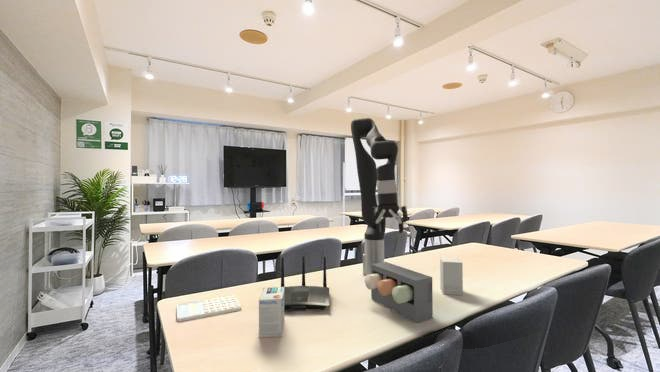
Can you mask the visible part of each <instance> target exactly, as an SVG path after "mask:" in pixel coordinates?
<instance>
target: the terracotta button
mask: <svg viewBox="0 0 660 372" xmlns="http://www.w3.org/2000/svg"><path fill="white" fill-rule="evenodd" d="M394 287H397V281H396V280H395V279H394V278H391V279H386V280H381V281H379V282H378V291H379V293H380V294H381V295H382V296H387V295H391V294H392V290H393V288H394Z"/></svg>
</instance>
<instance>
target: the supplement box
mask: <svg viewBox="0 0 660 372" xmlns="http://www.w3.org/2000/svg"><path fill="white" fill-rule="evenodd" d="M463 269H464V268H463V262H462V261H461V260H460V259H459V258H452V257H451V258H450V257H449V258H448V257H440V259H439V274H440V275H439V278H440V279H439V282H440V284H439V287H440V290H441V292H442V294H443V295H452V296H453V295H454V296H463V295H464V289H463V288H464V286H463V285H464V284H463V283H464V282H463V281H464V280H463V276H464V275H463Z"/></svg>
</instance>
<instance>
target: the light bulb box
mask: <svg viewBox="0 0 660 372" xmlns="http://www.w3.org/2000/svg"><path fill="white" fill-rule="evenodd" d="M284 287H285V286H284ZM284 287H281V286H278V287H276V286H275V287H274V286H273V287H263V289H262V293H261V295H260V297H259V299H258V338H280V337H282V336H283V333H284V332H283V331H284V325H285V310H284Z"/></svg>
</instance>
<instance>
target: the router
mask: <svg viewBox="0 0 660 372" xmlns="http://www.w3.org/2000/svg"><path fill="white" fill-rule="evenodd" d="M301 258H302V262H301V263H302V265H301V267H302V270H301V273H302V274H301V285H293V286H291V285H290V286H285V266H284V265H285V263H284V256H281V261H280V262H281V264H280V265H281V267H280V269H281V270H280V287H284V311H291V312H294V311H297V312H298V311H299V312H300V311H303V312H305V311H307V310H308V311H309V310H310V311H311V310H314V311H315V310H316V311H317V310H318V311H319V310H322V311H323V310H326V308H327V307H329V306H330V287H327V286H328V285H327V264H326V263H327V261H326V260H327V259H326V256H323V268H322V269H323V271H322V272H323V274H322V277H323V278H322V279H323V280H322V281H323V282H322V286H318V285H317V286H316V285H306V266H305V265H306V263H305V261H306V260H305V255H302V257H301Z"/></svg>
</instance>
